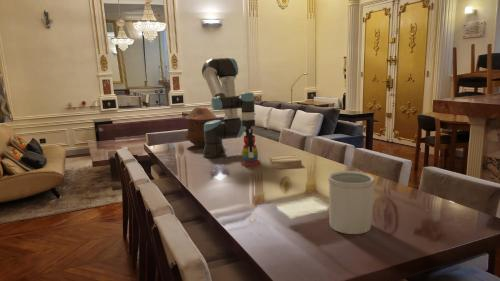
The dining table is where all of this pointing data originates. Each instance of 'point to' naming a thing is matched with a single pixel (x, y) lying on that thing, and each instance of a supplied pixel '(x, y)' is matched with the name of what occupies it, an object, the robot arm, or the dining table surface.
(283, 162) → the maple block
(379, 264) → the dining table surface
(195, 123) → the pottery vessel
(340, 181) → the utensil holder
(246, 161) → the stacking bear
